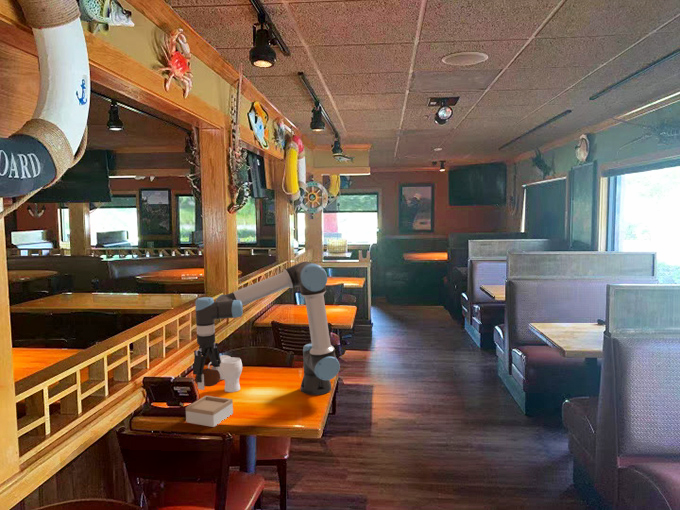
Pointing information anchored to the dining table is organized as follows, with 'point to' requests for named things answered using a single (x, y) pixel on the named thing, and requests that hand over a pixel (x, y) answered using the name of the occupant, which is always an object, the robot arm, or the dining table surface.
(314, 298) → the robot arm
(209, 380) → the potato
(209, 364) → the mug
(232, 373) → the cup
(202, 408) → the tray
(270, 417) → the dining table surface
